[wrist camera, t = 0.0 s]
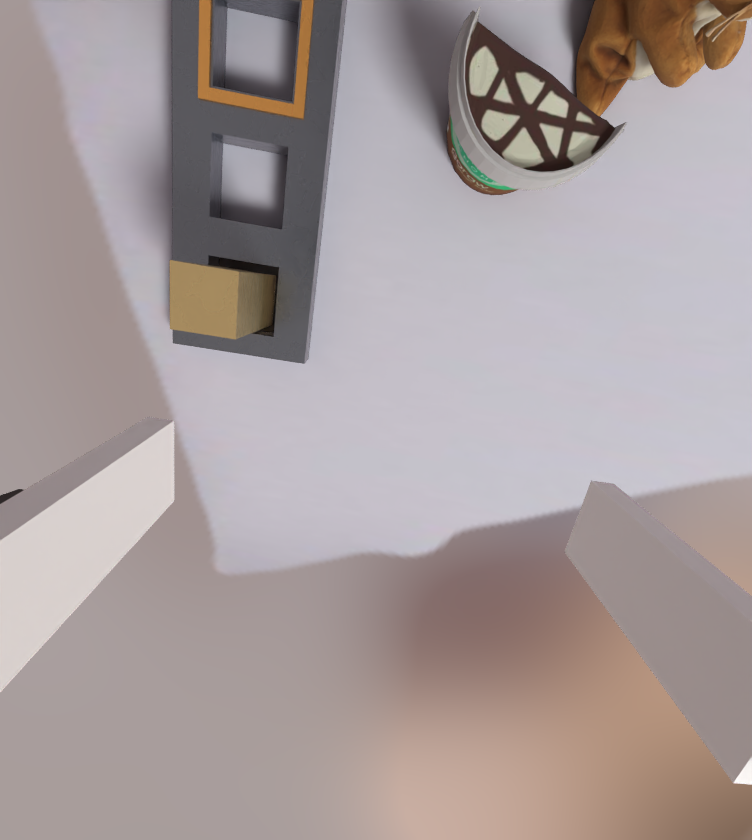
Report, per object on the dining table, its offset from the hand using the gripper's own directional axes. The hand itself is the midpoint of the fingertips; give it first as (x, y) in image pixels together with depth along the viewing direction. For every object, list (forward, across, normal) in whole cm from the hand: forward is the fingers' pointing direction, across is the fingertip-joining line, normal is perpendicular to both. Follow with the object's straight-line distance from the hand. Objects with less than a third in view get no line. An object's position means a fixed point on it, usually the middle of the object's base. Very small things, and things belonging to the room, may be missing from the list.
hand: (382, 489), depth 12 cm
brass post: (+28, -12, +3) cm, 31 cm away
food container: (+28, +7, +17) cm, 34 cm away
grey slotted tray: (+28, -12, +12) cm, 33 cm away
